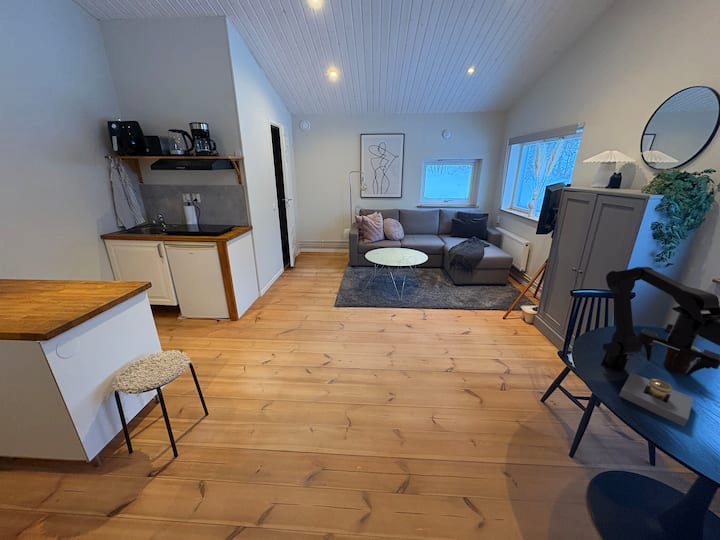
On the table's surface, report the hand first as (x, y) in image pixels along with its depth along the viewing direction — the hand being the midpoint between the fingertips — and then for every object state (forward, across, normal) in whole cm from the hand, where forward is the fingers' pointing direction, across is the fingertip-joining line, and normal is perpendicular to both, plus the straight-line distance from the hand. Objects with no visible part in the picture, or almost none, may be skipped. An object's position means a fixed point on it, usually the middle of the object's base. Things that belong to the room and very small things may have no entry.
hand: (666, 367), depth 98 cm
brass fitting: (+12, -1, +3) cm, 12 cm away
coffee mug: (+12, -1, -24) cm, 27 cm away
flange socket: (+12, -1, +4) cm, 12 cm away
